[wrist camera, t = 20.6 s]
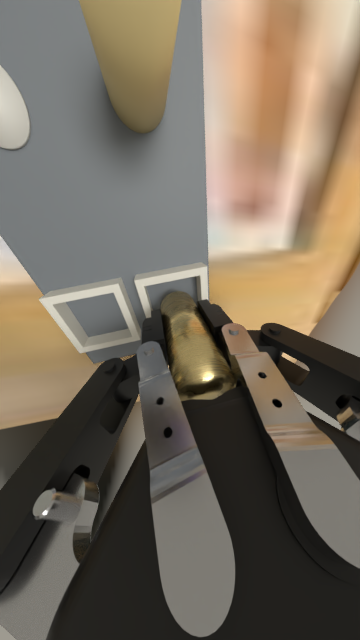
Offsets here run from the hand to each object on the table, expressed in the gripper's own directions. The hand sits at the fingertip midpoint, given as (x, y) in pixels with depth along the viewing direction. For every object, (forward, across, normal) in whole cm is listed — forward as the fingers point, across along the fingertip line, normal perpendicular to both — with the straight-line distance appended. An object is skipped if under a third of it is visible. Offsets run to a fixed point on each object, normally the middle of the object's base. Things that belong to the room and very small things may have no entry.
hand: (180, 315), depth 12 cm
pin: (+2, 0, 0) cm, 2 cm away
